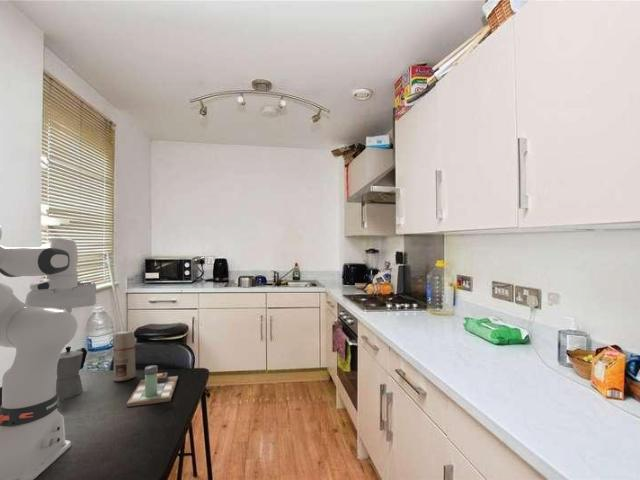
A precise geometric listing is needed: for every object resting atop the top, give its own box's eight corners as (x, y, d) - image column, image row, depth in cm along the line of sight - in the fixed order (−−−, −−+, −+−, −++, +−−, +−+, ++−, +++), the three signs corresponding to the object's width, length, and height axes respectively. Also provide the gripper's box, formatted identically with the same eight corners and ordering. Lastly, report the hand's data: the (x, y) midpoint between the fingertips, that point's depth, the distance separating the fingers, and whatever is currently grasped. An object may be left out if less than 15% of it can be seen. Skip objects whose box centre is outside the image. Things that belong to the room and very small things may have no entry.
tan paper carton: (108, 381, 140) (108, 333, 140) (124, 374, 148) (124, 328, 148) (123, 383, 137) (124, 334, 138) (140, 375, 145) (140, 329, 146)
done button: (162, 381, 135) (162, 376, 135) (152, 382, 134) (152, 377, 134) (163, 377, 138) (163, 372, 138) (154, 378, 137) (154, 374, 137)
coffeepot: (64, 402, 120) (64, 352, 121) (40, 401, 121) (40, 351, 122) (97, 385, 135) (97, 340, 136) (75, 384, 136) (75, 340, 137)
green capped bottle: (151, 398, 119) (151, 369, 120) (142, 396, 121) (142, 368, 121) (160, 393, 123) (160, 365, 124) (151, 391, 125) (151, 364, 125)
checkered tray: (170, 401, 120) (170, 391, 120) (126, 406, 116) (126, 397, 116) (177, 378, 141) (177, 371, 141) (141, 383, 137) (141, 375, 137)
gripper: (93, 280, 130) (93, 316, 130) (24, 285, 115) (23, 325, 114) (98, 281, 126) (98, 318, 126) (27, 286, 111) (26, 328, 110)
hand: (62, 321), depth 120 cm, fingers closed
